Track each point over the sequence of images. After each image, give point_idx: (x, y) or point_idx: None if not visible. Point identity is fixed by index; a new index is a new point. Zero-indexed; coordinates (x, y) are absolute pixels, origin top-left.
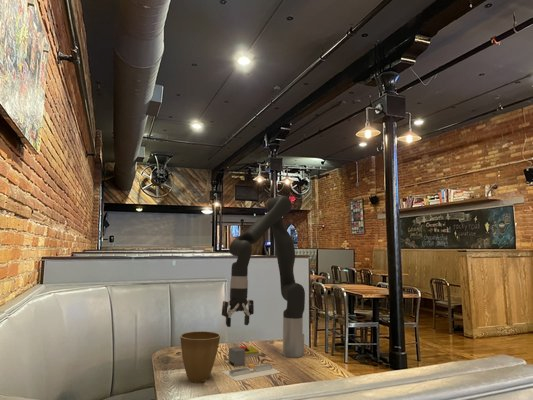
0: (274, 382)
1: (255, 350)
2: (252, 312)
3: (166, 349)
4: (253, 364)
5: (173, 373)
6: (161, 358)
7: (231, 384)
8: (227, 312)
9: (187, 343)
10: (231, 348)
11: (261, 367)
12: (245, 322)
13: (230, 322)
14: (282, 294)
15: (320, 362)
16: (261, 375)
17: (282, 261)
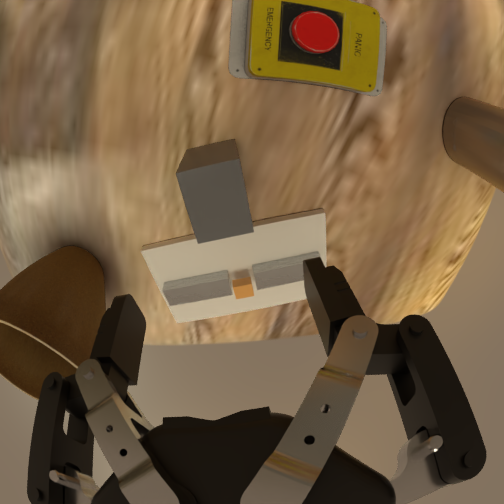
0: (277, 326)
1: (366, 69)
2: (397, 374)
3: None
4: (251, 291)
5: (12, 205)
6: None
7: (165, 317)
8: (88, 403)
9: (23, 377)
10: (188, 188)
11: (278, 285)
12: (309, 289)
13: (139, 352)
14: None
15: (466, 226)
16: (259, 306)
17: None
